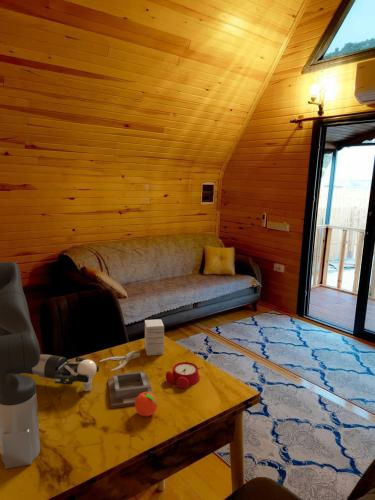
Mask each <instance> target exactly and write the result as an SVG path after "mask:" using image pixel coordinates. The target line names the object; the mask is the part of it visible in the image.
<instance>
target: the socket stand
mask: <svg viewBox="0 0 375 500" xmlns="http://www.w3.org/2000/svg"><path fill="white" fill-rule="evenodd" d="M107 385H108V393H109V403H110V409H116V408H122V407H124V408H125V407H130V406H135V400H136V398H137V397H138V396H139V395H140V394H141V393H143V392H150V393H152V394H153V395H154V392H153V389H152V385H151V382H150V378H149V376H148V374H147V373H145V372H144V370H140V371H134V372H133V371H131V372H130V371H129V372H124V373H115V374H113V377H111V378H108V379H107Z"/></svg>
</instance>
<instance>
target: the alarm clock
mask: <svg viewBox="0 0 375 500" xmlns="http://www.w3.org/2000/svg"><path fill="white" fill-rule="evenodd" d="M203 368H204V367H203V366H201V367H198V366H197V365H196V364H195V363H193V362H188V361H187V360H186V361H182V362H178V363H176V364H174V365H173V367H172V371H171V370H169V371H167V372H166V373H165V379H166V380H165V383H166V384H167V385H169V386H172V387H179V388H180V389H186V388H188V387H189V386H194V385H195V384H197V383H198V382H199V381H200V378H201V376H200V374H199V370H200V369H203Z"/></svg>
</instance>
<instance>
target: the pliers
mask: <svg viewBox="0 0 375 500" xmlns="http://www.w3.org/2000/svg"><path fill="white" fill-rule="evenodd" d="M140 357H141V353H140V352H139V353H137V350H133V351H130V352H128V353H126V354H125V356H123V355H122V356H110V357H107V358H104V359H101V360H99V361H98V363H102V362H106V361H117V362H118V361H119V365H118V366H116V367H115V368H113V369H111V370H110V371H111V372H114V371H117V370H120V369H122V368H123V367H125V366H126V365H128V362H129V361H130V360H133V359H137V358H140ZM123 359H124V360H123ZM122 360H123V361H122Z"/></svg>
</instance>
